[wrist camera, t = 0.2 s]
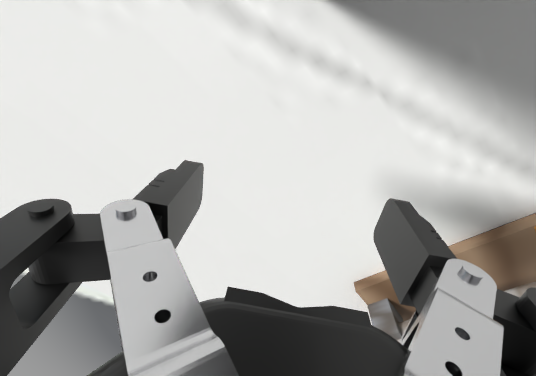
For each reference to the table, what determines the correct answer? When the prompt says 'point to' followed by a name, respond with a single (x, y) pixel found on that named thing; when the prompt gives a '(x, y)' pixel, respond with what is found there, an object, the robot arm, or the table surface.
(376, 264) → the table surface
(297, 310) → the robot arm
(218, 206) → the table surface
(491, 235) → the pipe stand
